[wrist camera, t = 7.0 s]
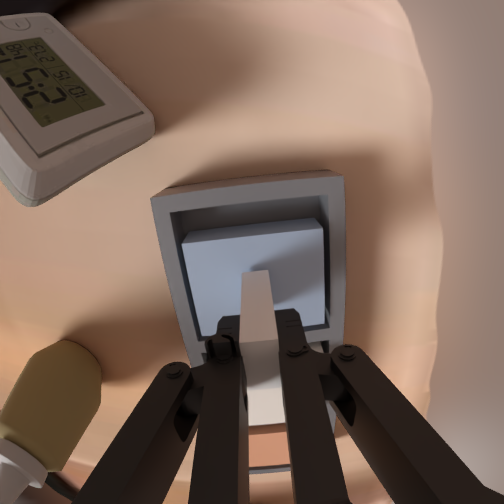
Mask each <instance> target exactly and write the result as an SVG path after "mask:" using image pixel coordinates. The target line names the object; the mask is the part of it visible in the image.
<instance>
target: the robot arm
mask: <svg viewBox="0 0 504 504" xmlns="http://www.w3.org/2000/svg"><path fill="white" fill-rule="evenodd" d="M204 345H205V349H206V353H207V357H208V362H206V363H204V364H203V365H200V366H197V367H193V368H190V367H189V366H188V365H187V364H186V363H183V362H173V363H169V364H167V365H165V366H164V367H163V368H162V369H161V370H160V371H159V373H158V374H157V376H156V377H155V379H154V380H153V382H152V383H151V385H150V386H149V387H148V389H147V390H146V392H145V393H144V395H143V396H142V398H141V399H140V401H139V402H138V404H137V405H136V407H135V408H134V410H133V411H132V413H131V414H130V416H129V417H128V419H127V420H126V422H125V423H124V425H123V426H122V428H121V429H120V431H119V432H118V434H117V435H116V437H115V438H114V440H113V441H112V443H111V444H110V446H109V447H108V449H107V450H106V452H105V453H104V455H103V456H102V458H101V459H100V461H99V462H98V464H97V465H96V467H95V468H94V470H93V471H92V473H91V474H90V476H89V477H88V479H87V481H86V482H85V484H84V485H83V487H82V488H81V490H80V491H79V493H78V494H77V496H76V497H75V499H74V500H73V502H72V503H71V504H162V503H163V501H164V499H165V497H166V495H167V493H168V491H169V489H170V486H171V484H172V482H173V480H174V478H175V476H176V474H177V472H178V470H179V468H180V465H181V463H182V461H183V459H184V457H185V455H186V453H187V451H188V448H189V446H190V444H191V442H192V440H193V438H194V435H195V433H196V431H197V429H198V431H197V438H196V445H195V453H194V460H193V468H192V476H191V484H190V492H189V500H188V504H249V414H248V395H247V389H248V391H249V390H261V389H271V388H281V387H282V398H283V407H284V415H285V424H286V433H287V441H288V451H289V460H290V469H291V478H292V488H293V497H294V504H352V503H351V502H350V500H349V498H348V494H347V489H346V485H345V480H344V476H343V472H342V467H341V463H340V459H339V455H338V450H337V446H336V442H335V438H334V434H333V430H332V426H331V422H330V418H329V414H328V410H327V406H326V402H325V400H328V401H329V404H330V405H331V407H332V408H333V410H334V411H335V413H336V415H337V416H338V418H339V419H340V421H341V422H342V424H343V425H344V427H345V428H346V430H347V432H348V433H349V435H350V436H351V438H352V439H353V441H354V442H355V444H356V445H357V447H358V448H359V450H360V451H361V453H362V455H363V456H364V458H365V459H366V461H367V462H368V464H369V465H370V467H371V468H372V470H373V471H374V473H375V474H376V476H377V477H378V479H379V480H380V482H381V483H382V485H383V486H384V488H385V489H386V491H387V492H388V494H389V495H390V497H391V498H392V500H393V501H394V503H395V504H504V495H502V494H500V493H497V492H495V491H493V490H491V489H489V488H487V487H485V486H484V485H483V484H482V483H481V482H480V481H479V480H478V479H477V477H476V476H475V475H474V474H473V473H472V472H471V471H470V469H469V468H468V467H467V466H466V465H465V464H464V463H463V461H462V460H461V459H460V458H459V457H458V456H457V455H456V453H455V452H454V451H453V450H452V449H451V448H450V447H449V446H448V444H447V443H445V441H444V440H443V439H442V438H441V437H440V436H439V434H438V433H437V432H436V431H435V430H434V429H433V428H432V426H431V425H430V424H429V423H428V422H427V421H426V420H425V419H424V418H423V416H422V415H421V414H420V413H419V412H418V411H417V410H416V409H415V407H414V406H413V405H412V404H411V403H410V402H409V401H408V400H407V399H406V398H405V396H404V395H403V394H402V393H401V392H400V391H399V390H398V389H397V388H396V387H395V385H394V384H393V383H392V382H391V381H390V380H389V379H388V378H387V377H386V376H385V374H384V373H383V372H382V371H381V370H380V369H379V368H378V367H377V366H376V365H375V363H374V362H373V361H372V360H371V359H370V358H369V357H368V356H367V355H366V354H365V353H364V351H363V350H362V349H360V348H359V347H357V346H354V345H348V344H345V345H340V346H338V347H336V348H334V349H333V351H332V352H331V353H321V352H317V351H314V350H313V349H311V347H310V346H309V345H308V343H307V340H306V336H305V332H304V329H303V326H302V321H301V318H300V314H299V312H297V311H296V310H295V309H294V308H290V309H282V310H274V306H273V299H272V292H271V285H270V278H269V272H268V270H261V271H252V272H242V285H241V309H240V315H231V316H222V318H221V319H220V320H219V321H218V324H217V331H216V334H214V335H212V336H210V337H209V338H208V339H206V341H205V343H204Z"/></svg>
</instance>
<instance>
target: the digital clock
mask: <svg viewBox="0 0 504 504" xmlns="http://www.w3.org/2000/svg"><path fill="white" fill-rule="evenodd" d="M154 134H155V123H154V117H153V114H152V113H151V112H150V110H149V109H148V108H147V107H146V106H145V105H144V104H143V103H142V102H141V101H140V100H139V99H138V98H137V97H136V96H135V95H134V94H133V93H132V92H131V91H130V90H129V89H128V88H127V87H126V86H125V85H124V84H123V83H122V82H121V81H120V80H119V79H118V78H117V77H116V76H115V75H114V74H113V73H112V72H111V71H110V70H109V69H108V68H107V67H106V66H105V65H104V64H103V63H102V62H101V61H99V60H98V59H97V58H96V57H95V56H94V55H93V54H92V53H91V52H90V51H89V50H88V49H87V48H86V47H85V46H84V45H83V44H82V43H81V42H80V41H79V40H78V39H76V38H75V37H74V36H73V35H72V34H71V33H70V32H69V31H68V30H67V29H66V28H65V27H64V26H63V25H61V24H60V23H59V22H58V21H57V20H56V19H55V18H54V17H52V16H51V15H49V14H47V13H29V14H18V15H9V16H2V17H0V180H1V181H2V183H3V184H4V185H5V187H6V188H7V189H8V190H9V192H10V193H11V194H12V195H13V197H14V198H15V199H16V200H17V201H18V202H19V203H21V204H22V205H24V206H27V207H36V206H39V205H41V204H43V203H45V202H47V201H48V200H50V199H51V198H53V197H55V196H56V195H58V194H59V193H61V192H62V191H64V190H65V189H67V188H69V187H70V186H72V185H73V184H75V183H76V182H78V181H80V180H81V179H83V178H84V177H86V176H88V175H89V174H91V173H93V172H94V171H96V170H98V169H99V168H101V167H103V166H104V165H106V164H108V163H110V162H111V161H113V160H115V159H117V158H119V157H120V156H122V155H124V154H126V153H128V152H129V151H131V150H133V149H135V148H137V147H139V146H141V145H142V144H144V143H145V142H147V141H148V140H150V139H151V138H152V136H153V135H154Z"/></svg>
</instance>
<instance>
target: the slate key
mask: <svg viewBox="0 0 504 504" xmlns="http://www.w3.org/2000/svg"><path fill="white" fill-rule="evenodd" d="M182 248H183V254H184V258H185V263H186V268H187V273H188V278H189V282H190V287H191V291H192V296H193V300H194V305H195V309H196V313H197V318H198V322H199V326H200V330H201V334H202V336H211V335H214V334H216V331H217V324H218V321H219V320H220V319H221V318H222V316H231V315H240V309H241V285H242V272H252V271H261V270H268V272H269V278H270V285H271V292H272V299H273V306H274V310H282V309H290V308H294V309H295V310H296V311H297V312H299V314H300V318H301V321H302V326H310V325H317V324H324V317H325V293H324V244H323V228H322V227H321V225H320V224H319V223H318V222H317V220H316V219H315V218H305V219H296V220H286V221H276V222H267V223H258V224H249V225H240V226H231V227H223V228H214V229H206V230H198V231H190V232H189V233H188V234H187V236H186V238H185V239H184V241H183V243H182Z"/></svg>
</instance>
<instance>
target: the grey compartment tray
mask: <svg viewBox="0 0 504 504" xmlns="http://www.w3.org/2000/svg"><path fill="white" fill-rule="evenodd" d="M150 200H151V206H152V211H153V216H154V221H155V226H156V231H157V236H158V241H159V245H160V250H161V254H162V259H163V263H164V267H165V272H166V276H167V280H168V284H169V288H170V292H171V296H172V300H173V304H174V308H175V312H176V315H177V319H178V323H179V326H180V330H181V333H182V337H183V340H184V344H185V347H186V351H187V354H188V357H189V361H190V364H191V367H192V368H193V367H197V366H200V365H203V364H204V363H206V362H208V357H207V353H206V349H205V345H204V343H205V341H206V339H208V338H209V337H210V336H202V334H201V330H200V326H199V322H198V318H197V313H196V309H195V305H194V300H193V296H192V291H191V287H190V282H189V278H188V273H187V268H186V263H185V258H184V254H183V248H182V243H183V241H184V239H185V238H186V236H187V234H188V233H189V232H190V231H198V230H206V229H214V228H223V227H231V226H240V225H249V224H258V223H267V222H276V221H286V220H296V219H305V218H315V219H316V220H317V222H318V223H319V224H320V225H321V227H322V228H323V244H324V293H325V317H324V324H317V325H310V326H303V329H304V332H305V336H306V340H307V343H310V342H317V341H320V343H321V346H322V349H323V352H324V353H331V352H332V351H333V349H334V348H336V347H338V346H340V345H343V336H344V317H345V289H346V218H345V190H344V176H343V175H340V174H338V173H335V172H333V171H331V170H316V171H303V172H291V173H280V174H270V175H260V176H251V177H243V178H234V179H226V180H218V181H211V182H204V183H197V184H190V185H183V186H177V187H171V188H165V189H164V190H162V191H161V192H159V193H157V194H156V195H154V196H153V197H151V198H150ZM211 336H212V335H211ZM325 402H326V406H327V410H328V414H329V418H330V422H331V426H332V430H333V434H334V428H335V421H336V413H335V411H334V410H333V408H332V407H331V405H330V404H329V401H328V400H325ZM284 423H285V422H284ZM275 424H279V423H275ZM264 425H268V424H264ZM251 426H256V425H251ZM285 471H291V469H290V464H281V465H270V466H256V467H249V474H262V473H274V472H285Z"/></svg>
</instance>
